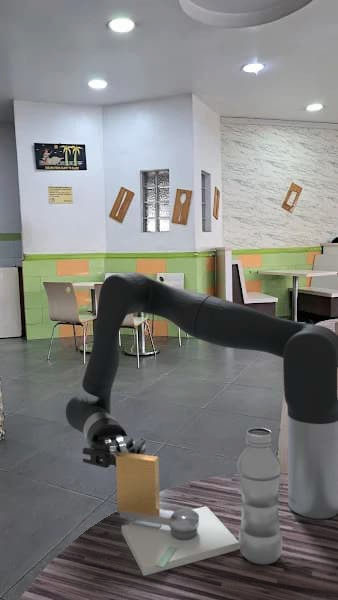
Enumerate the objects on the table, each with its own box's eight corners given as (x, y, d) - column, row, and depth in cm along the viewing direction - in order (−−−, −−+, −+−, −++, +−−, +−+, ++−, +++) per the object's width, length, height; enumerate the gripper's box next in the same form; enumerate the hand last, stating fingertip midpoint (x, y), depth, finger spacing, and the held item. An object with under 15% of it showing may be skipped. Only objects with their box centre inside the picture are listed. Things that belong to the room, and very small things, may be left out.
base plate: (205, 510, 87) (204, 498, 87) (243, 553, 75) (242, 539, 74) (120, 530, 82) (120, 517, 81) (146, 580, 69) (145, 565, 69)
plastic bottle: (283, 573, 70) (283, 441, 68) (237, 568, 71) (235, 438, 69) (282, 546, 76) (281, 425, 74) (239, 542, 77) (238, 423, 76)
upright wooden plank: (202, 518, 80) (201, 457, 79) (194, 534, 75) (192, 470, 74) (126, 505, 85) (124, 448, 84) (113, 520, 80) (111, 460, 79)
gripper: (71, 422, 96) (89, 454, 80) (134, 412, 101) (162, 441, 85) (73, 457, 97) (90, 496, 81) (135, 447, 102) (163, 481, 86)
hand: (127, 468), depth 83 cm, fingers closed
